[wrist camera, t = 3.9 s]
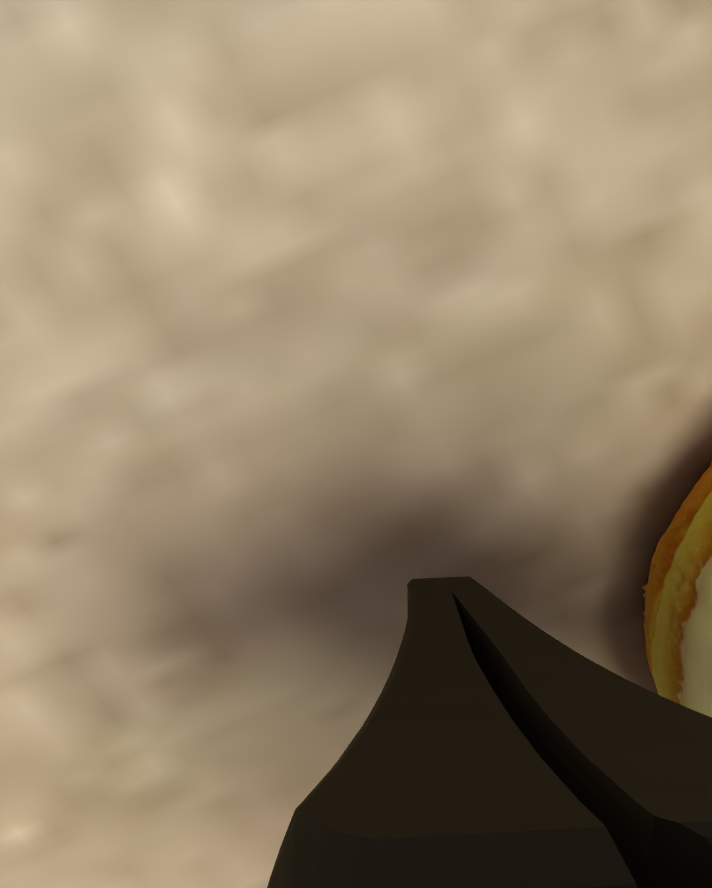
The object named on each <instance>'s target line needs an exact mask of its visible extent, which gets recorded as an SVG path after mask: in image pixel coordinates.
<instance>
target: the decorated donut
mask: <svg viewBox="0 0 712 888" xmlns="http://www.w3.org/2000/svg"><path fill="white" fill-rule="evenodd" d="M642 588H643V589H644V590H645V591H646V592H645V593H644V594H643V596H644V599H645V611H644V612H643V615H644V617H645V621H644V625H643V627H644V629H645V640H646V655H647V659H648V664H649V667H650V670H651V673H652V675H653V679H654V682H655V685H656V687H657V692H658V695H660V696H662V697H665V698H667V699H669V700H671V701H674V702H676V703H678V704H680V705H683V706H685V707H687V708H689V709H692V710H694V711H697V712H699V713H702V714H704V715H707V716H709V717H712V461H711V464H710V467H709V468H708V469H707V470H706V471H705V472H704V473H703V475H702V476H701V478H700V479H699V480H698V482H697V483H696V484H695V486H694V487H693V489H692V490H691V492H690V493H689V495H688V496H687V498H686V499H685V500H684V502H683V503H682V505H681V507H680V509H679V510H678V511H677V513H676V514H675V516H674V519H673V520H672V522H671V524H670V526H669V527H668V529H667V530H666V532H665V533H664V534H663V536H662V538H661V539H660V540H659V541H658V544H657V548H656V551H655V553H654V555H653V557H652V561H651V565H650V571H649V578H648V584H646V585H644V586H642Z"/></svg>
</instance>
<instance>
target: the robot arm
mask: <svg viewBox="0 0 712 888" xmlns="http://www.w3.org/2000/svg"><path fill="white" fill-rule="evenodd" d="M407 585H408V619H407V624H406V629H405V633H404V637H403V640H402V643H401V646H400V649H399V652H398V655H397V658H396V661H395V663H394V666H393V668H392V671H391V673H390V675H389V678H388V680H387V682H386V684H385V686H384V688H383V690H382V692H381V694H380V696H379V698H378V700H377V702H376V703H375V705H374V707H373V709H372V711H371V713H370V714H369V716H368V718H367V719H366V721H365V723H364V724H363V726H362V727H361V729H360V730H359V732H358V733H357V735H356V736H355V737H354V739H353V740H352V742H351V743H350V744H349V746H348V747H347V749H346V750H345V751H344V753H343V754H342V756H341V757H340V758H339V760H338V761H337V762H336V764H335V765H334V766H333V767H332V769H331V770H330V771H329V772H328V773H327V775H326V776H325V777H324V778H323V779H322V780H321V781H320V782H319V784H318V785H317V786H316V787H315V788H314V789H313V790H312V792H311V793H310V794H309V795H308V796H307V797H306V798H305V799H304V801H303V802H302V803H301V804H300V805H299V806H298V807H297V808H296V809H295V812H294V814H293V817H292V819H291V822H290V824H289V827H288V829H287V832H286V835H285V837H284V840H283V843H282V845H281V848H280V851H279V854H278V857H277V859H276V862H275V865H274V868H273V871H272V874H271V877H270V880H269V884H268V887H267V888H712V717H709V716H707V715H704V714H702V713H699V712H697V711H694V710H692V709H689V708H687V707H685V706H683V705H680V704H678V703H676V702H674V701H671V700H669V699H667V698H665V697H662V696H660V695H658V694H656V693H653V692H651V691H649V690H647V689H645V688H642V687H640V686H638V685H636V684H634V683H632V682H630V681H628V680H626V679H624V678H622V677H620V676H618V675H617V674H615V673H613V672H611V671H609V670H607V669H605V668H604V667H602V666H600V665H598V664H596V663H594V662H592V661H591V660H589V659H587V658H585V657H584V656H582V655H580V654H578V653H577V652H575V651H573V650H572V649H570V648H569V647H567V646H566V645H564V644H562V643H561V642H559V641H558V640H556V639H555V638H553V637H551V636H550V635H548V634H547V633H545V632H544V631H542V630H541V629H540V628H538V627H537V626H535V625H534V624H532V623H531V622H529V621H528V620H527V619H525V618H524V617H522V616H521V615H520V614H518V613H517V612H516V611H514V610H513V609H512V608H510V607H509V606H508V605H506V604H505V603H504V602H502V601H501V600H500V599H498V598H497V597H496V596H495V595H493V594H492V593H491V592H489V591H488V590H487V589H485V588H484V587H483V586H482V585H480V584H479V583H478V582H476V581H475V580H473V579H472V578H470V577H447V578H425V579H412V580H411V581H410V582H409V583H408V584H407Z"/></svg>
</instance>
